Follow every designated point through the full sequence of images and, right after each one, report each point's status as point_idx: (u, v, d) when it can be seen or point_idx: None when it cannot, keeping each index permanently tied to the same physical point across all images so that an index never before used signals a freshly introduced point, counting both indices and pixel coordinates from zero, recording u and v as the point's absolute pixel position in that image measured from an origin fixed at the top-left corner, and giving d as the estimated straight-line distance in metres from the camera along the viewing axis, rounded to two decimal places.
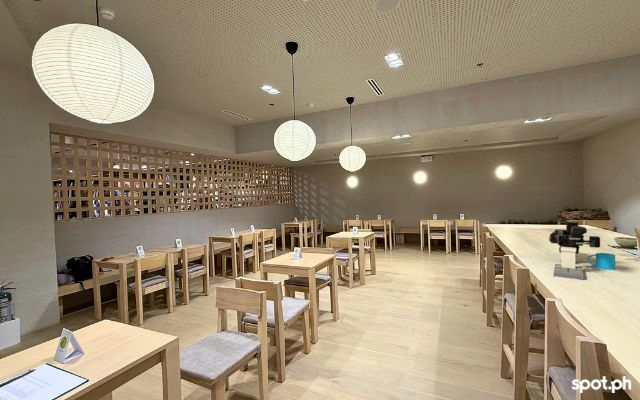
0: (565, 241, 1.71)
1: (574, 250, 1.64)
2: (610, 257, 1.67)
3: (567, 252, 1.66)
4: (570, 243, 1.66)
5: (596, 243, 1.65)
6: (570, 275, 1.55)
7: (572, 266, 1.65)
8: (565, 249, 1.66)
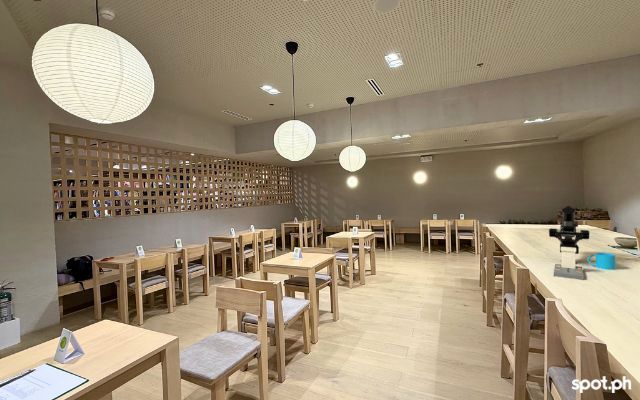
0: None
1: (574, 250, 1.64)
2: (610, 257, 1.67)
3: (567, 252, 1.66)
4: None
5: (581, 237, 1.74)
6: (570, 275, 1.55)
7: (572, 266, 1.65)
8: (565, 249, 1.66)
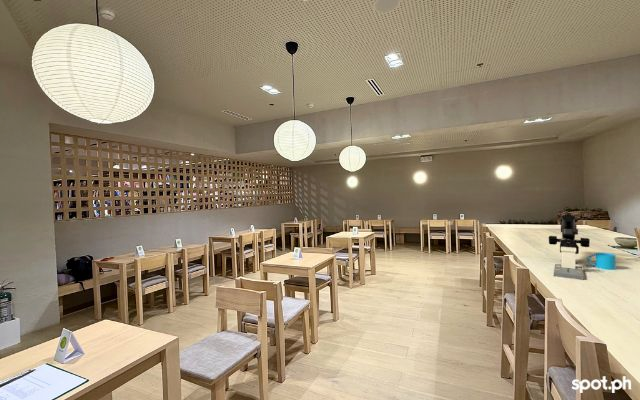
0: None
1: (574, 250, 1.64)
2: (610, 257, 1.67)
3: (567, 252, 1.66)
4: None
5: (575, 245, 1.73)
6: (570, 275, 1.55)
7: (572, 266, 1.65)
8: (565, 249, 1.66)
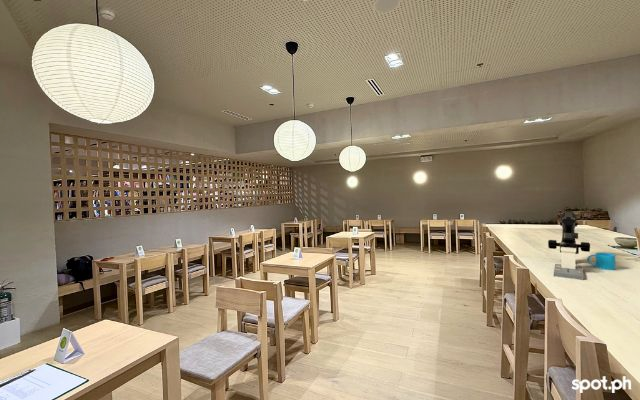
0: None
1: (574, 250, 1.63)
2: (610, 257, 1.67)
3: (567, 252, 1.65)
4: None
5: None
6: (570, 275, 1.55)
7: (572, 266, 1.64)
8: (565, 249, 1.65)
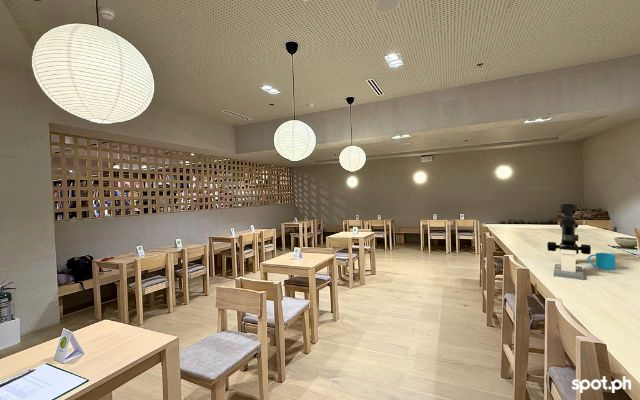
0: None
1: (574, 253, 1.57)
2: (610, 257, 1.67)
3: (567, 255, 1.59)
4: None
5: None
6: (570, 275, 1.55)
7: (572, 269, 1.58)
8: (565, 252, 1.60)
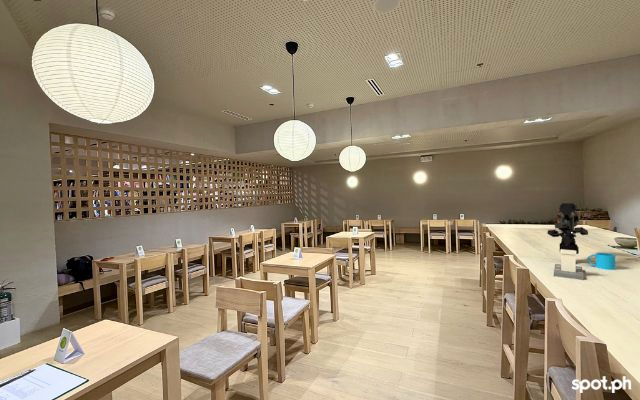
0: None
1: (574, 253, 1.57)
2: (610, 257, 1.67)
3: (567, 255, 1.59)
4: None
5: (573, 235, 1.73)
6: (570, 275, 1.55)
7: (572, 269, 1.58)
8: (565, 252, 1.60)
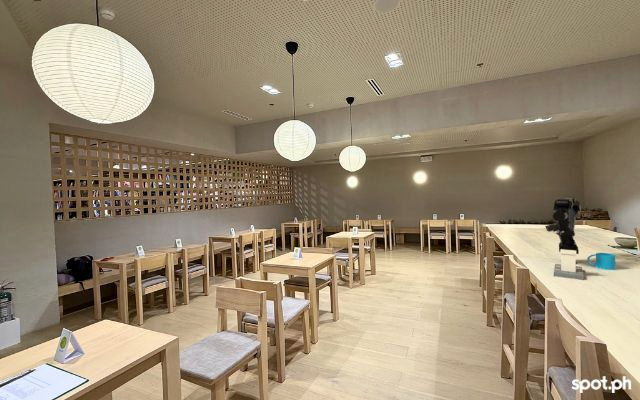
0: None
1: (574, 253, 1.57)
2: (610, 257, 1.67)
3: (567, 255, 1.59)
4: None
5: (566, 235, 1.73)
6: (570, 275, 1.55)
7: (572, 269, 1.58)
8: (565, 252, 1.60)
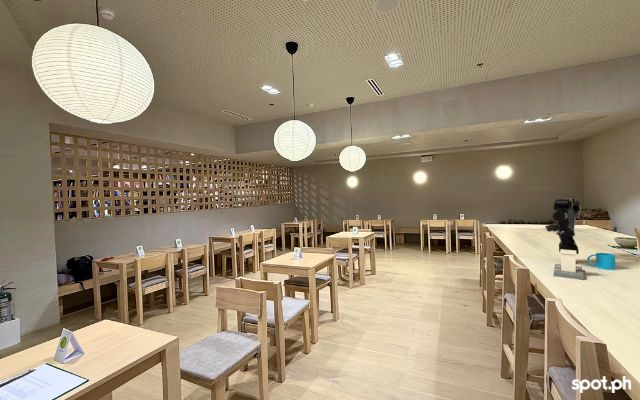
0: None
1: (574, 253, 1.57)
2: (610, 257, 1.67)
3: (567, 255, 1.59)
4: None
5: (566, 235, 1.73)
6: (570, 275, 1.55)
7: (572, 269, 1.58)
8: (565, 252, 1.60)
